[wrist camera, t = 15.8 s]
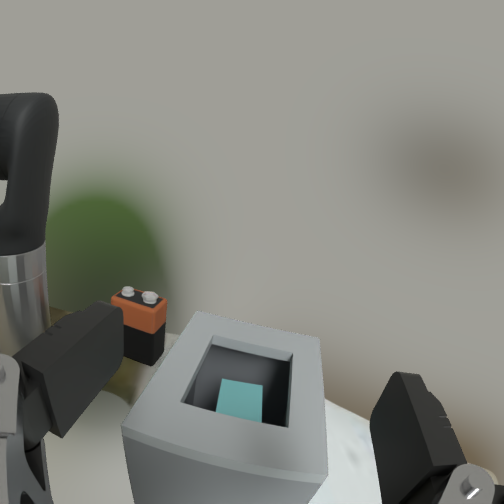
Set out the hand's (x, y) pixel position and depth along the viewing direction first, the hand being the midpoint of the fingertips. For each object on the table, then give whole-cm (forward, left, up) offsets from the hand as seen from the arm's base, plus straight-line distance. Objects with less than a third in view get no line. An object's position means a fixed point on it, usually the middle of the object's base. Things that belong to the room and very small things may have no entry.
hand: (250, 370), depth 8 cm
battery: (-16, +28, -24) cm, 40 cm away
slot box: (0, +12, -23) cm, 26 cm away
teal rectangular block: (0, +12, -22) cm, 25 cm away
